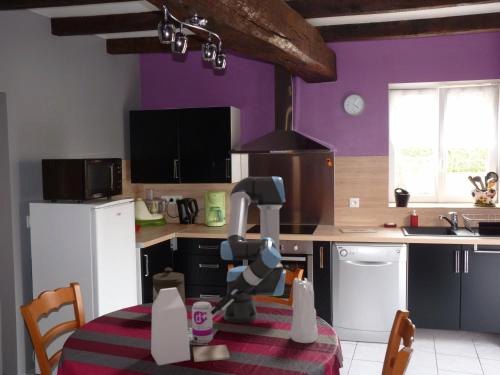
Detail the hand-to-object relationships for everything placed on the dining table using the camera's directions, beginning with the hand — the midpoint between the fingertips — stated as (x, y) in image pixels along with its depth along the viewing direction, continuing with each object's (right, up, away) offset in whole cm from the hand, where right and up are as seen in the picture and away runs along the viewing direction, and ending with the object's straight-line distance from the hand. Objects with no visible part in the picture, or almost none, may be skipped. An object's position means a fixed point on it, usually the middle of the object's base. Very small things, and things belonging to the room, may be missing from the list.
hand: (214, 312), depth 210 cm
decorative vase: (+36, -11, +4) cm, 38 cm away
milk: (-16, -14, -13) cm, 25 cm away
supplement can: (-5, -12, +3) cm, 13 cm away
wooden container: (-24, -10, +38) cm, 45 cm away
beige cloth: (-1, -13, -11) cm, 17 cm away
